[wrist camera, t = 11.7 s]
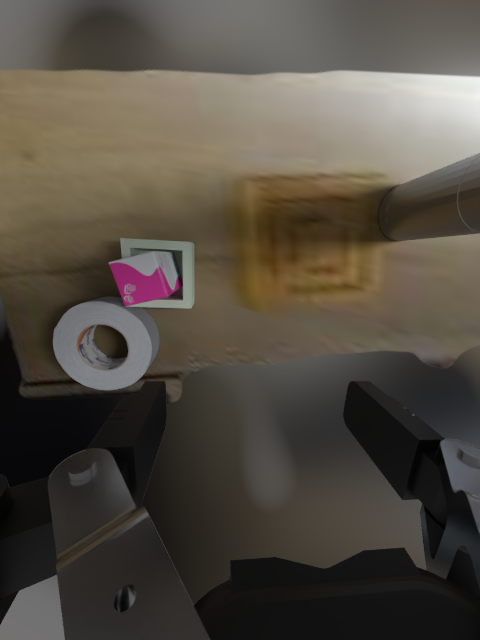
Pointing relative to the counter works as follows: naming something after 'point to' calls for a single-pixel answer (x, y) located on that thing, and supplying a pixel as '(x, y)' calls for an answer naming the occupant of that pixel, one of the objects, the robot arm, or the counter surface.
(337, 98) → the counter surface
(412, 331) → the counter surface
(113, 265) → the supplement box
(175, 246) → the holder
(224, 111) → the counter surface
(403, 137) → the counter surface
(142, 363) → the tape roll
